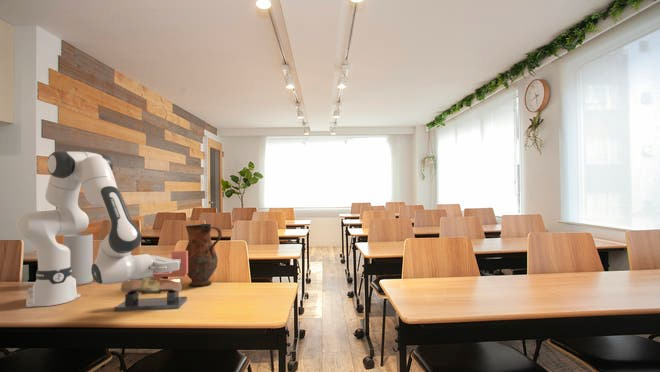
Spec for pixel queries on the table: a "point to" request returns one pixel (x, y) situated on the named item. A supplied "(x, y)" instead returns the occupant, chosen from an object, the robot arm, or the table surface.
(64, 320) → the table surface
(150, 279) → the valve
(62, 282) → the robot arm
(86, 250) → the cylinder vase
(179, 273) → the valve lever
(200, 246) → the pitcher
